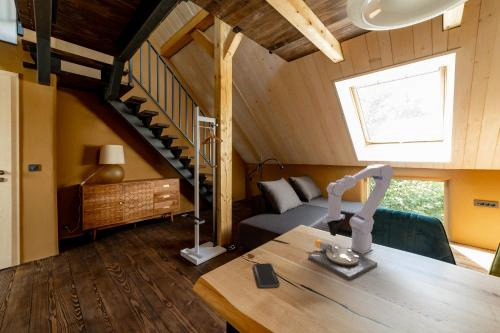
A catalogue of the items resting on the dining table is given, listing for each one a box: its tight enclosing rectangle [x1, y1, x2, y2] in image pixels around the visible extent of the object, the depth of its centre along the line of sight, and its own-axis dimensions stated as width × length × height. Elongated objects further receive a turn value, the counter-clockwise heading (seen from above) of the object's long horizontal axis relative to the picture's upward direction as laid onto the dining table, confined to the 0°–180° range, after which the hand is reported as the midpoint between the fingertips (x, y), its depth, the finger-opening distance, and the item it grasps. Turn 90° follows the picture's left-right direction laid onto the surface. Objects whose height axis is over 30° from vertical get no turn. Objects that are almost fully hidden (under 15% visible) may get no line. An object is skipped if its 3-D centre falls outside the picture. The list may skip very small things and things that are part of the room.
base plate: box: [308, 244, 378, 281], centre depth 94 cm, size 20×20×2 cm
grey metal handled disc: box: [314, 238, 359, 266], centre depth 97 cm, size 13×20×3 cm, turn 33°
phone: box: [252, 262, 280, 289], centre depth 83 cm, size 8×1×15 cm
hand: (333, 235), depth 104 cm, fingers closed
